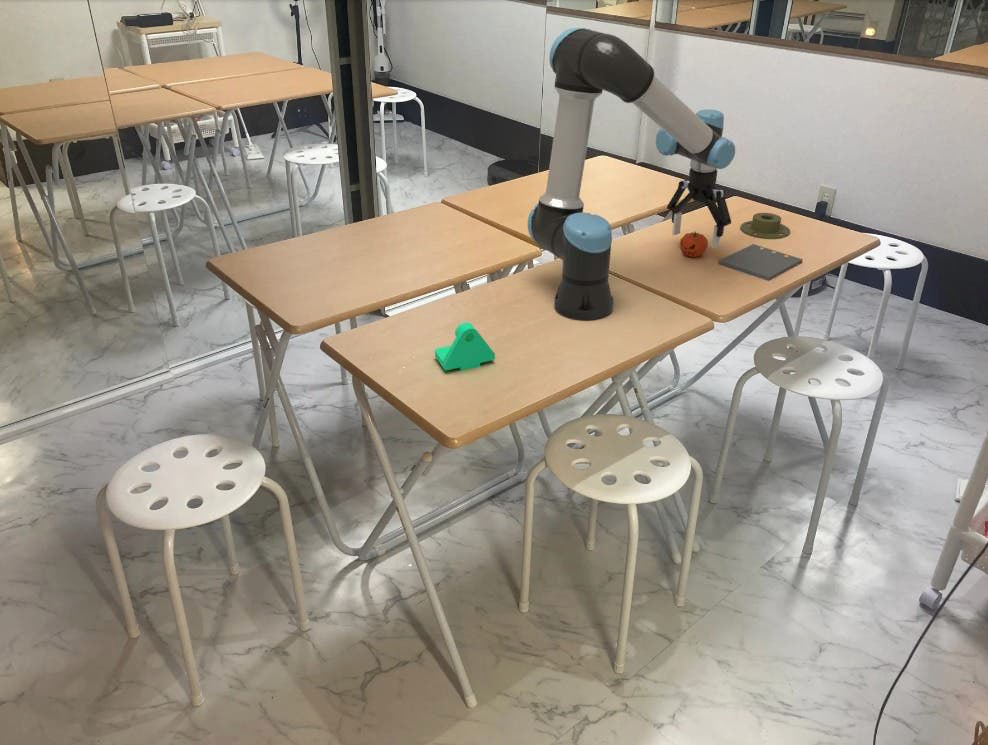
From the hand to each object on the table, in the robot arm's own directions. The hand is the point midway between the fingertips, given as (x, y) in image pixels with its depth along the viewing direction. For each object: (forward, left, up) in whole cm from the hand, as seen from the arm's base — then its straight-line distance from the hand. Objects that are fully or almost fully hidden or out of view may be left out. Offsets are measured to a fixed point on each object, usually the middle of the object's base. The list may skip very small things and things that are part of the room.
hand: (695, 240), depth 232 cm
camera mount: (-90, 0, -5) cm, 90 cm away
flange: (+33, -4, -5) cm, 33 cm away
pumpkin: (0, 0, -5) cm, 5 cm away
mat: (+9, -17, -5) cm, 20 cm away
